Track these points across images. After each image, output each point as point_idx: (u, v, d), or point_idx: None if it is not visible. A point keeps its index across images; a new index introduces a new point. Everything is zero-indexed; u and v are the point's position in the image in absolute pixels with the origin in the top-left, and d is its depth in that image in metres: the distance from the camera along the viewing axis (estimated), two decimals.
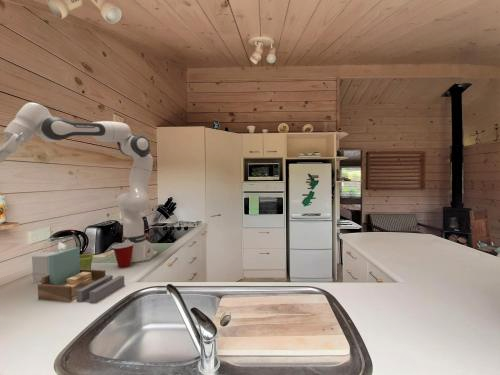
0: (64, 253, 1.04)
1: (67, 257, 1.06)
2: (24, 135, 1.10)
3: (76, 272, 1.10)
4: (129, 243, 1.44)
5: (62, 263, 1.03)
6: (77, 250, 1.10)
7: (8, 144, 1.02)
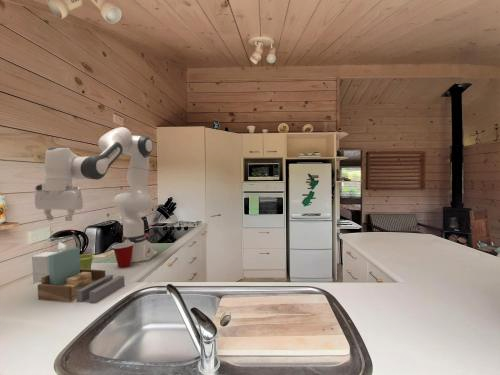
0: (64, 253, 1.04)
1: (67, 257, 1.06)
2: (70, 186, 1.05)
3: (76, 272, 1.10)
4: (129, 243, 1.44)
5: (62, 263, 1.03)
6: (77, 250, 1.10)
7: (76, 204, 1.01)
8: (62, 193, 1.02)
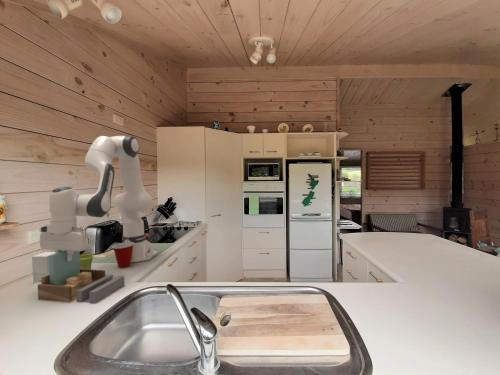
0: (64, 253, 1.04)
1: None
2: (75, 226, 1.06)
3: (76, 272, 1.10)
4: (129, 243, 1.44)
5: (62, 263, 1.03)
6: None
7: (82, 246, 1.02)
8: (68, 234, 1.03)
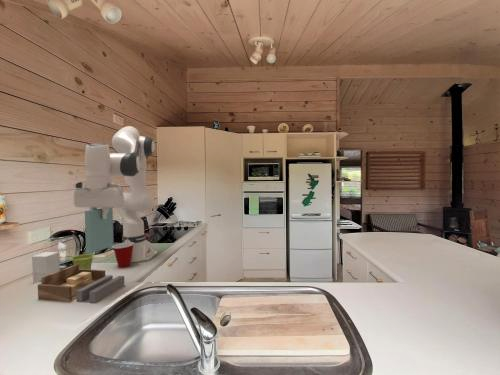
0: (99, 210, 1.00)
1: None
2: (110, 183, 1.02)
3: (110, 232, 1.06)
4: (129, 243, 1.44)
5: (97, 220, 1.00)
6: (111, 210, 1.07)
7: (119, 202, 0.99)
8: (103, 191, 0.99)
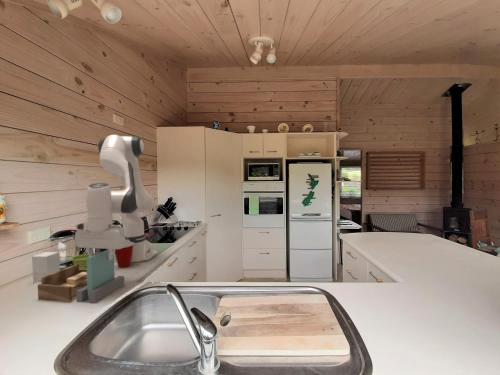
0: (101, 255, 1.01)
1: (103, 259, 1.02)
2: (112, 223, 1.03)
3: (111, 274, 1.07)
4: (129, 243, 1.44)
5: (99, 265, 1.00)
6: None
7: (120, 244, 0.99)
8: (105, 232, 1.00)
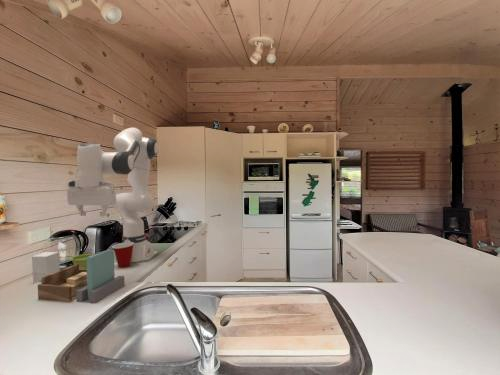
0: (101, 255, 1.01)
1: (103, 259, 1.02)
2: (102, 182, 1.06)
3: (111, 274, 1.07)
4: (129, 243, 1.44)
5: (99, 265, 1.00)
6: (112, 252, 1.07)
7: (111, 200, 1.03)
8: (96, 189, 1.03)
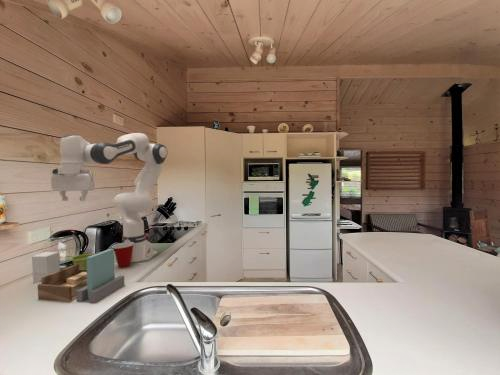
0: (101, 255, 1.01)
1: (103, 259, 1.02)
2: (83, 170, 1.18)
3: (111, 274, 1.07)
4: (129, 243, 1.44)
5: (99, 265, 1.00)
6: (112, 252, 1.07)
7: (89, 186, 1.15)
8: (76, 176, 1.15)
